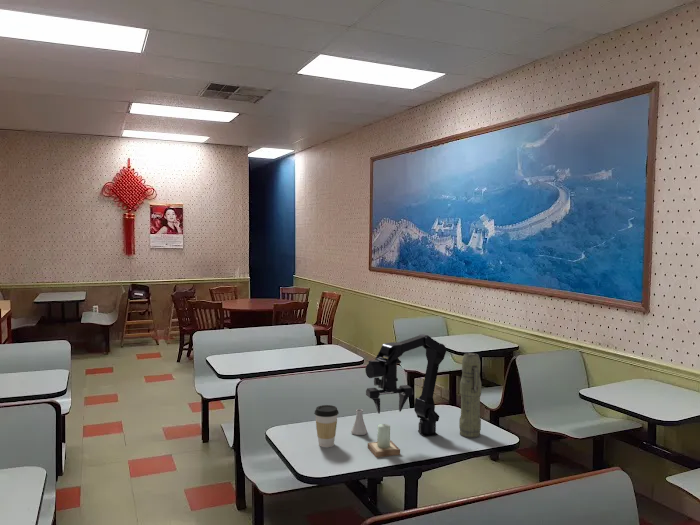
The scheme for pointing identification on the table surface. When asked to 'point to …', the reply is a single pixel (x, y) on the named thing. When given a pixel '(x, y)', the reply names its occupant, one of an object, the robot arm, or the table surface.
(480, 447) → the table surface
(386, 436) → the sage capsule
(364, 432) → the flask
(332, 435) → the coffee cup
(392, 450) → the plinth
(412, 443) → the table surface
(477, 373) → the stone statue
